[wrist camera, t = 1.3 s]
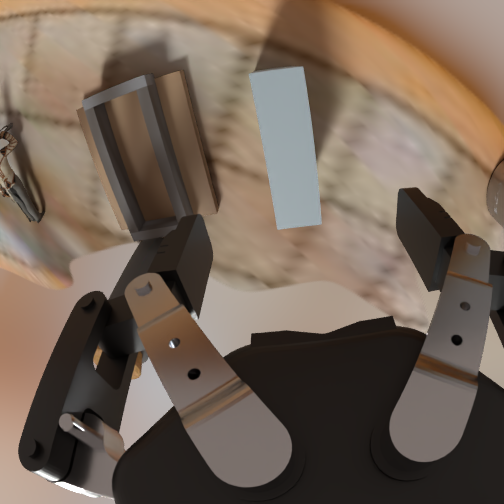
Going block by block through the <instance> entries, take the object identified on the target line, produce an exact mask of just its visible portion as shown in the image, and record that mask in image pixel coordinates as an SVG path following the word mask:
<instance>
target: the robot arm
mask: <svg viewBox="0 0 504 504" xmlns="http://www.w3.org/2000/svg"><path fill="white" fill-rule="evenodd" d="M487 206H488V210H489V212H490V214H491V215H492V216H493V218H494V219H495V220H496V221H497V222H498V223H499V224H500V225H501V226H502V227H503V228H504V160H503V161H502V162H501V163H500V164H499V165H498V167H497V168H496V169H495V171H494V173H493V175H492V177H491V180H490V182H489V186H488V190H487ZM396 229H397V234H398V237H399V239H400V240H401V242H402V244H403V245H404V247H405V249H406V251H407V252H408V254H409V256H410V258H411V260H412V261H413V263H414V265H415V267H416V269H417V271H418V273H419V274H420V276H421V278H422V280H423V282H424V284H425V286H426V288H427V290H428V292H430V291H435V290H440V292H441V294H440V297H439V300H438V303H437V306H436V309H435V312H434V315H433V318H432V321H431V323H430V326H429V329H428V332H427V334H424V333H422V332H420V331H417V330H415V329H411V328H407V327H401V326H396V325H395V322H394V319H393V316H389V317H383V318H377V319H371V320H365V321H359V322H356V323H354V324H351V325H348V326H346V327H343V328H340V329H337V330H335V331H332V332H329V333H326V334H318V333H307V332H296V331H287V330H286V331H276V332H265V333H252V334H251V344H250V345H247V346H244V347H242V348H239V349H237V350H235V351H233V352H231V353H229V354H228V355H226V356H225V357H222V356H221V355H220V353H219V352H218V351H217V350H216V348H215V347H214V346H213V344H212V343H211V342H210V340H209V339H208V338H207V337H206V335H205V334H204V333H203V331H202V330H201V329H200V327H199V326H198V325H197V323H196V322H195V320H194V319H199V315H200V311H201V307H202V302H203V298H204V294H205V289H206V285H207V281H208V277H209V273H210V269H211V265H212V261H213V250H212V245H211V242H210V239H209V236H208V233H207V230H206V226H205V223H204V220H203V217H202V215H201V214H194V215H188V216H183V217H181V219H180V221H179V223H178V225H177V228H176V230H172V231H171V232H169V233H168V234H167V235H166V236H165V237H164V239H163V241H162V243H161V245H160V247H159V249H158V251H157V254H156V255H155V257H154V259H153V261H152V263H151V265H150V267H149V269H148V271H147V273H146V274H143V275H140V276H138V277H137V278H135V279H134V280H132V281H131V282H130V283H129V284H128V286H127V287H126V289H125V295H122V296H119V297H116V298H113V299H110V300H107V298H106V297H105V295H104V294H103V293H102V292H100V291H93V292H90V293H88V294H86V295H84V296H83V297H82V298H81V299H80V300H79V301H78V302H77V303H76V305H75V306H74V308H73V310H72V312H71V314H70V316H69V318H68V320H67V322H66V324H65V326H64V328H63V330H62V332H61V335H60V337H59V339H58V341H57V343H56V346H55V348H54V350H53V352H52V354H51V357H50V359H49V361H48V364H47V366H46V369H45V371H44V374H43V376H42V378H41V381H40V383H39V386H38V389H37V391H36V394H35V397H34V400H33V402H32V405H31V408H30V411H29V414H28V417H27V420H26V423H25V426H24V429H23V432H22V436H21V439H20V443H19V449H18V454H19V459H20V462H21V463H22V465H23V466H24V468H26V469H27V470H29V471H31V472H33V473H35V474H37V475H39V476H41V477H43V478H45V479H46V480H47V481H49V482H52V483H54V484H56V485H59V486H61V487H64V488H66V489H68V490H71V491H73V492H79V493H82V494H84V495H87V496H91V497H100V496H103V497H107V498H110V499H114V500H115V503H116V504H504V389H503V388H502V387H500V386H499V385H498V384H496V383H495V382H493V381H492V380H491V379H490V378H488V377H487V376H485V375H484V374H483V373H481V372H480V371H479V367H480V363H481V358H482V354H483V349H484V344H485V339H486V333H487V328H488V321H489V316H490V318H491V320H492V322H493V324H494V327H495V329H496V331H497V333H498V336H499V338H500V340H501V343H502V345H503V347H504V252H502V251H493V250H490V247H489V245H488V244H487V242H486V241H485V240H483V239H482V238H480V237H478V236H476V235H473V234H465V233H464V232H463V231H462V229H461V228H460V227H459V226H458V225H457V223H456V222H455V221H454V220H453V219H452V218H450V215H449V214H448V213H447V212H445V210H444V209H443V208H442V206H441V205H440V204H439V203H437V202H435V201H433V200H432V199H430V198H427V197H426V196H425V195H424V194H423V193H422V192H421V191H420V190H419V189H418V188H417V187H414V188H402V189H399V192H398V202H397V217H396ZM98 346H99V347H100V348H101V350H102V353H101V356H100V359H99V362H98V365H97V368H96V370H95V368H94V365H93V358H94V355H95V352H96V349H97V347H98ZM143 350H146V352H147V354H148V356H149V358H150V360H151V362H152V364H153V366H154V368H155V370H156V372H157V374H158V376H159V378H160V380H161V382H162V384H163V386H164V388H165V390H166V391H167V393H168V395H169V397H170V399H171V401H172V403H173V404H174V406H173V407H172V408H171V409H170V410H169V411H168V412H167V413H166V414H165V415H164V416H163V417H162V418H161V419H160V420H159V421H157V422H156V423H155V424H154V425H153V426H152V427H151V428H150V429H149V430H148V431H147V432H146V433H145V434H144V435H143V436H142V437H141V438H139V439H138V440H137V441H136V442H135V443H134V444H133V445H132V446H131V447H130V448H129V449H127V451H125V449H124V442H123V438H122V437H121V435H120V434H119V430H120V425H121V421H122V416H123V411H124V407H125V403H126V398H127V394H128V390H129V386H130V382H131V378H132V374H133V370H134V367H135V363H136V359H137V355H138V352H139V351H143Z"/></svg>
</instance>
